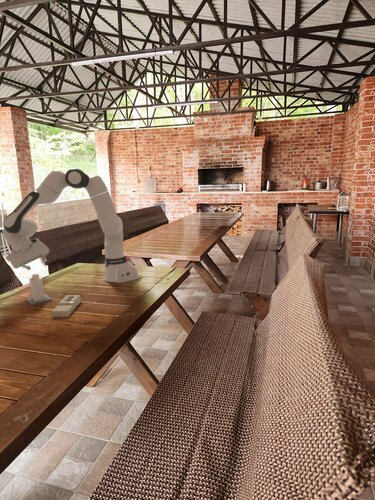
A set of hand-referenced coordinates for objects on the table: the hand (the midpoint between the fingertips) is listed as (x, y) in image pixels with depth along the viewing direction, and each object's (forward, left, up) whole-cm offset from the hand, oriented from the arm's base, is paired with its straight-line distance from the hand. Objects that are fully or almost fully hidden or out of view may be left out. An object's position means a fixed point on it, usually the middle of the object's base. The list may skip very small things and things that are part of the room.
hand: (37, 265), depth 171 cm
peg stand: (+1, +13, -16) cm, 20 cm away
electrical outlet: (-11, +32, -16) cm, 37 cm away
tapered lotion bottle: (+1, +13, -15) cm, 20 cm away
